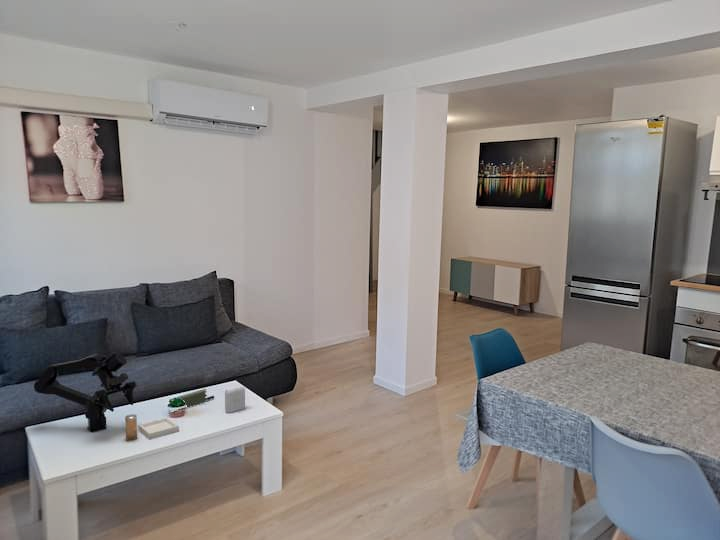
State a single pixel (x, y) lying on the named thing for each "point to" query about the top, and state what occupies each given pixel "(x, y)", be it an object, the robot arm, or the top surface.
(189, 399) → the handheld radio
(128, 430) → the battery cell
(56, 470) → the top surface
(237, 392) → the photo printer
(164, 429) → the tray
